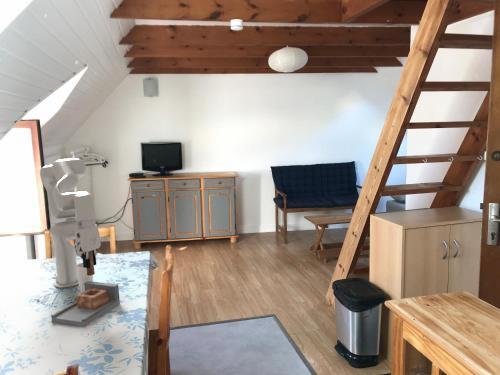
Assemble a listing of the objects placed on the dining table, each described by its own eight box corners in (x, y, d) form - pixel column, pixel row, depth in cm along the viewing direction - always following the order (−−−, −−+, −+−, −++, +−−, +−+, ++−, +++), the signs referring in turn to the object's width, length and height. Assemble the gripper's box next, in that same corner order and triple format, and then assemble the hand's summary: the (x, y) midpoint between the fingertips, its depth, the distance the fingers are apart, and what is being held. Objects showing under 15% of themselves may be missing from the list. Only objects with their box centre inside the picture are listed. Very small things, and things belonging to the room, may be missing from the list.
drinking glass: (89, 299, 187) (86, 267, 185) (76, 298, 188) (73, 266, 186) (97, 293, 194) (95, 262, 192) (84, 292, 195) (81, 262, 193)
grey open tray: (52, 322, 165) (49, 300, 164) (90, 300, 186) (88, 281, 184) (84, 327, 160) (82, 305, 159) (119, 304, 180) (118, 284, 179)
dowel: (85, 275, 173) (82, 247, 172) (90, 272, 176) (87, 245, 174) (91, 275, 172) (88, 247, 171) (96, 273, 175) (93, 245, 173)
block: (77, 307, 173) (76, 295, 173) (92, 298, 182) (91, 287, 181) (95, 309, 170) (93, 297, 170) (109, 300, 179) (108, 289, 178)
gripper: (79, 228, 162) (83, 273, 165) (106, 219, 178) (109, 260, 180) (63, 227, 165) (68, 272, 167) (91, 219, 180) (95, 259, 183)
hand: (89, 265), depth 174 cm, fingers closed on dowel, 3 cm apart
